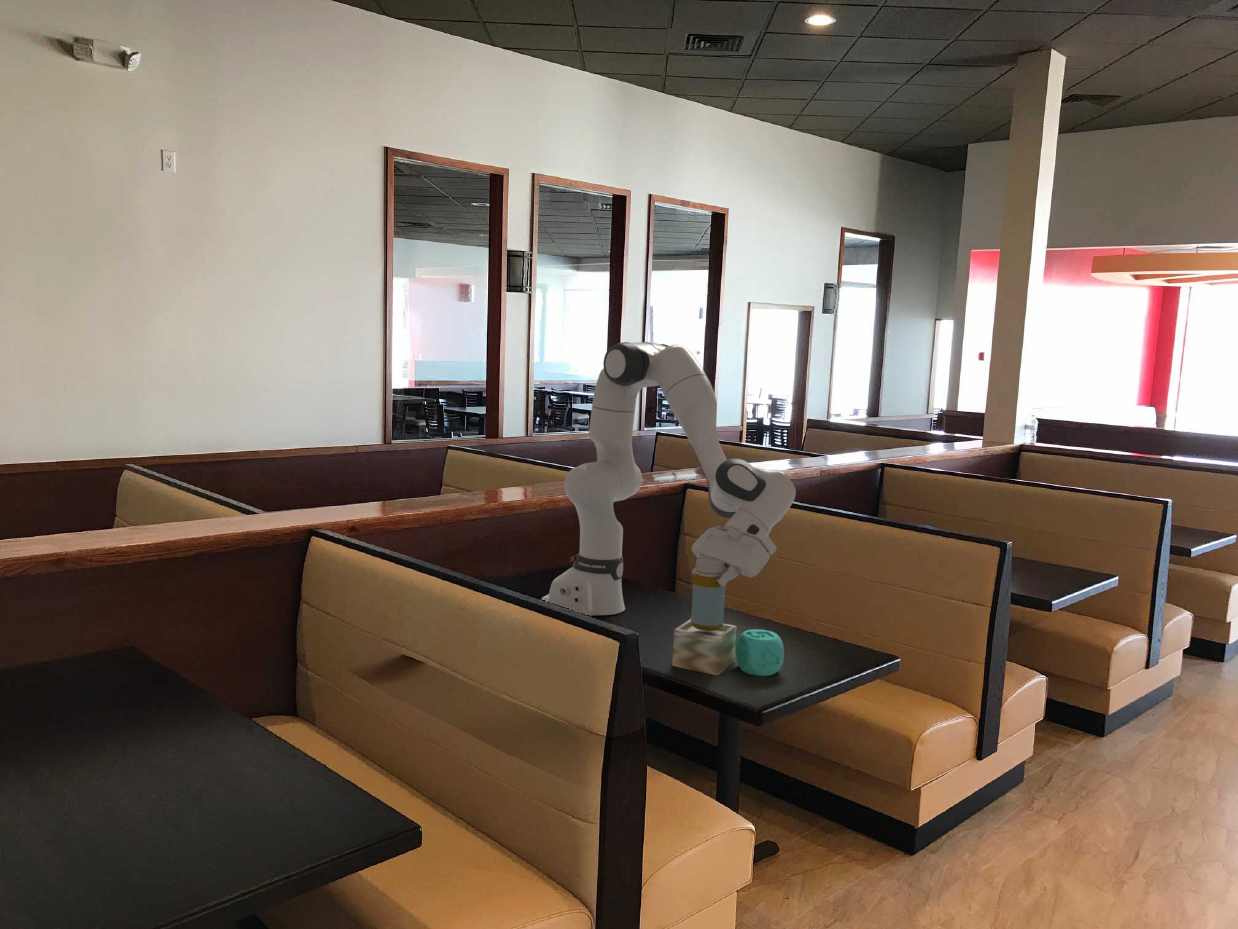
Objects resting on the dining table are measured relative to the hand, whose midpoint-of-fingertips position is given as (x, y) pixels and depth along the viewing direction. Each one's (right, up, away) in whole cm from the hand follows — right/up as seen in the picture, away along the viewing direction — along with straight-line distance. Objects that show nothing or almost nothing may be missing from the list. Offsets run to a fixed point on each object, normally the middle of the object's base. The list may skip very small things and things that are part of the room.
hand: (707, 579), depth 202 cm
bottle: (0, -11, +2) cm, 11 cm away
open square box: (-1, -19, +3) cm, 19 cm away
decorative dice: (+11, -20, +1) cm, 23 cm away
